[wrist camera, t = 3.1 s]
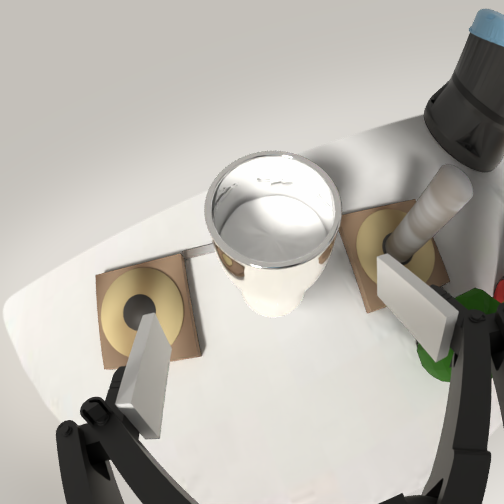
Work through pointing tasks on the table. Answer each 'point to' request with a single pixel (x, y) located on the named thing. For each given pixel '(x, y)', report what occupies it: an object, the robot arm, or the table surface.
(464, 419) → the robot arm
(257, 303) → the beer glass
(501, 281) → the canned food
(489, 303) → the bell pepper
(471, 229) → the table surface
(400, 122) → the table surface
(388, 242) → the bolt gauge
